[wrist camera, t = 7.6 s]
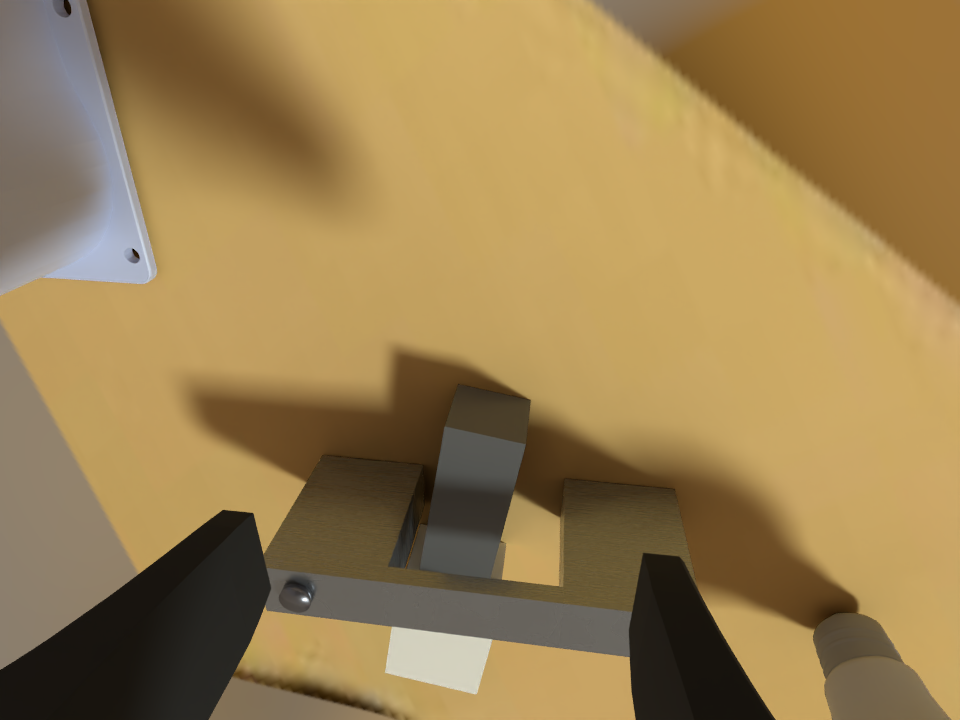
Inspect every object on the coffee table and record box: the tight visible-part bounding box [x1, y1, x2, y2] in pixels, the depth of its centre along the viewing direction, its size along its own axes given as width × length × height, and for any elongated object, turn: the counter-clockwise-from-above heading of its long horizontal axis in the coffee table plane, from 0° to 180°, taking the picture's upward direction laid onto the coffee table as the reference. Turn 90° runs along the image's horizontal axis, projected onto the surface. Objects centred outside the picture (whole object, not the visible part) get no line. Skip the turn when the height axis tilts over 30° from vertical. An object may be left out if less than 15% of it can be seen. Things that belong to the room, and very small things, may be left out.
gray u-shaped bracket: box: [264, 455, 698, 657], centre depth 20 cm, size 2×13×6 cm, turn 89°
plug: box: [385, 384, 531, 694], centre depth 22 cm, size 11×4×4 cm, turn 170°
